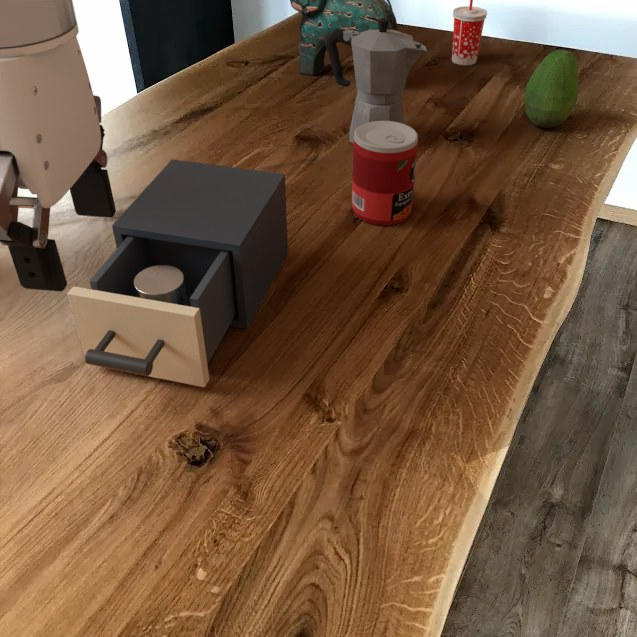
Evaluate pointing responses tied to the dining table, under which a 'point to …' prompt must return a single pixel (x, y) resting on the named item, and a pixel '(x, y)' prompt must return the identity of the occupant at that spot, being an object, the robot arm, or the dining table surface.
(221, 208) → the cabinet
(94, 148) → the robot arm
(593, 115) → the dining table surface
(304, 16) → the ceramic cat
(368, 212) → the canned food
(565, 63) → the avocado
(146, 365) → the drawer
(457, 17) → the beverage cup
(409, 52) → the coffeepot
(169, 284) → the cylinder
